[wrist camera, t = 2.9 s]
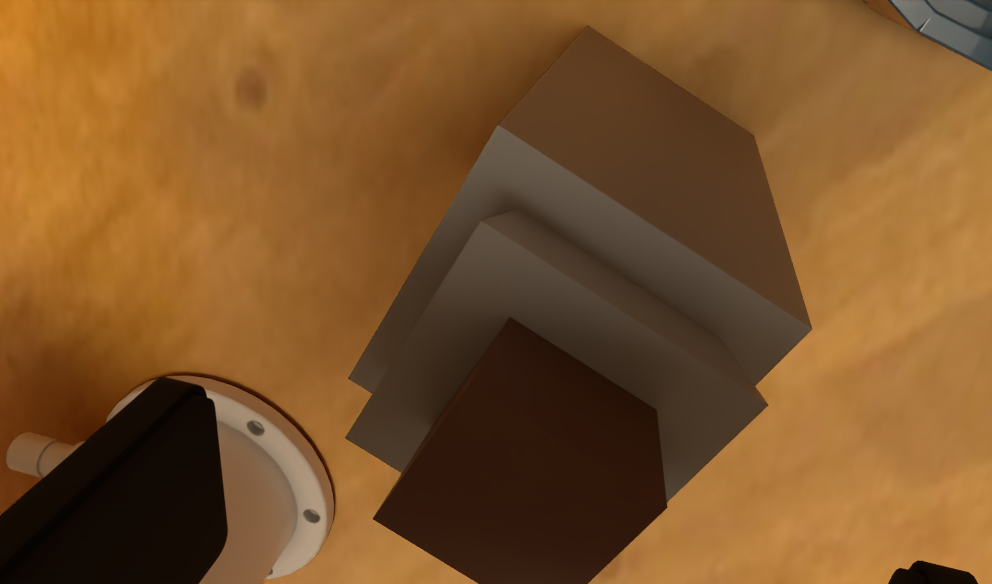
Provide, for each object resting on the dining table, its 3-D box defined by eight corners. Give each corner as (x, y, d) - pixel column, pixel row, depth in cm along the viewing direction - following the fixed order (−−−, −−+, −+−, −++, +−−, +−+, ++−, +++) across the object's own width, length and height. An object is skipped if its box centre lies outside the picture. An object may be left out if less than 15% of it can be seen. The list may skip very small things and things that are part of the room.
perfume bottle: (489, 185, 28) (241, 524, 12) (587, 25, 25) (416, 214, 9) (637, 280, 28) (577, 726, 13) (754, 135, 25) (864, 500, 9)
